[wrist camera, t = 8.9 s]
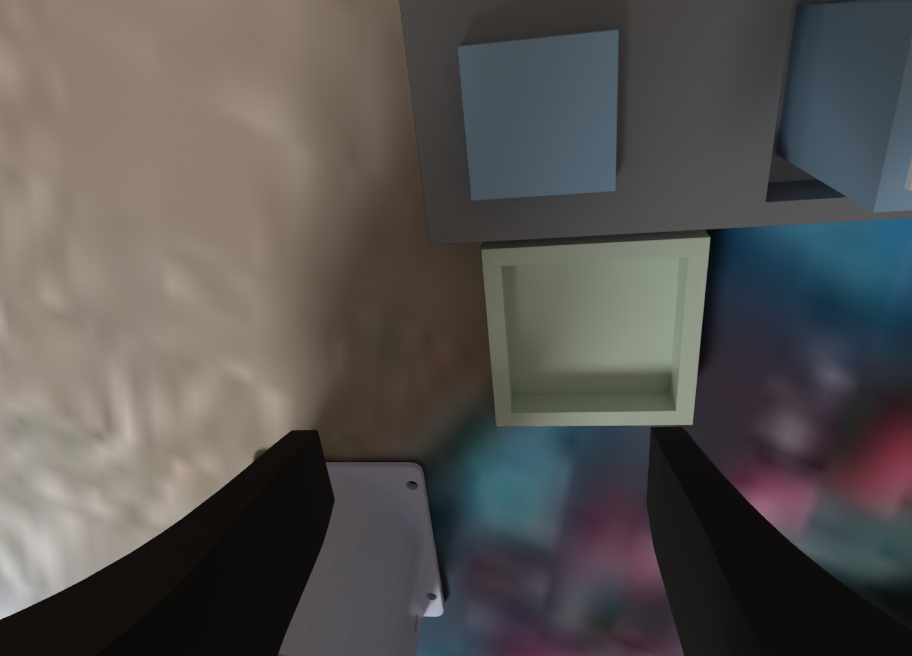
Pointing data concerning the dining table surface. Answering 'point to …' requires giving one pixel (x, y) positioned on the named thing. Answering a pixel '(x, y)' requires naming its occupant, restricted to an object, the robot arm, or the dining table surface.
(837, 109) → the plug
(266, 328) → the dining table surface
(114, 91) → the dining table surface
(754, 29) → the grey busybox board
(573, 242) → the tray
